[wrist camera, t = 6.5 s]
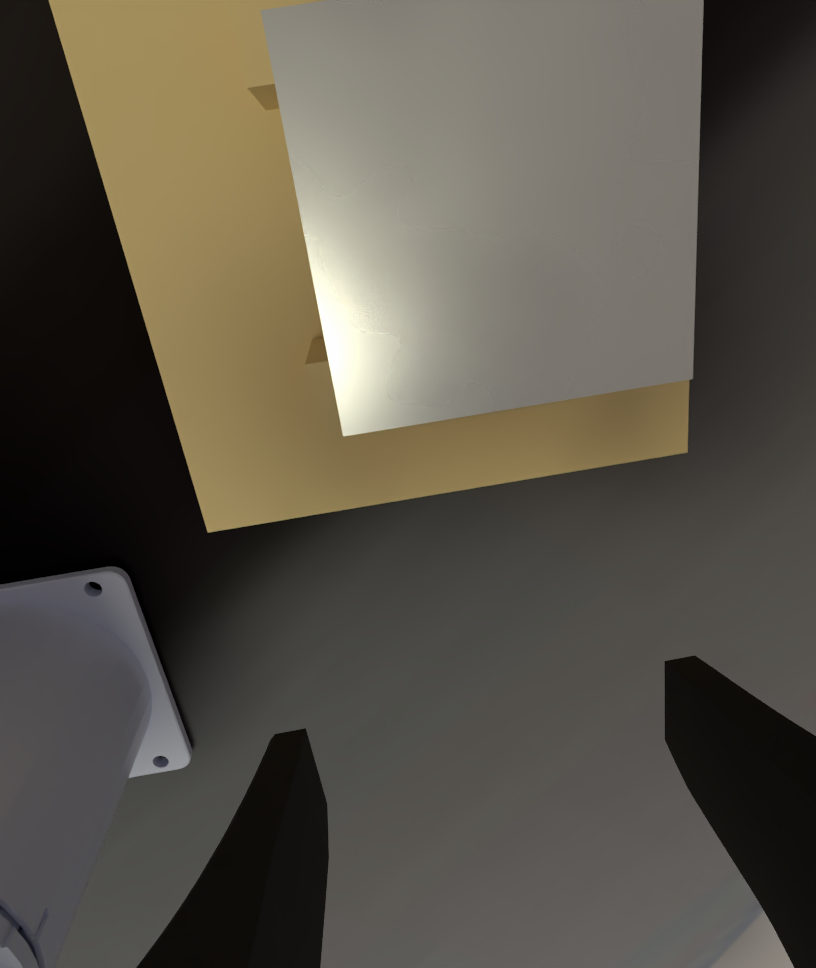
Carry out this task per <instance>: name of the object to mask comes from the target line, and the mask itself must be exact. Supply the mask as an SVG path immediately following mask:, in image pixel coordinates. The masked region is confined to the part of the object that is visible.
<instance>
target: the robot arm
mask: <svg viewBox="0 0 816 968" xmlns="http://www.w3.org/2000/svg"><path fill="white" fill-rule="evenodd" d="M89 582H96V583H98V584H100V586H101V587H102V590H96V589H94V588H92V587H91V586H90V585H89ZM665 741H666V743H667V745H668V747H669V750H670V752H671V754H672V756H673V758H674V760H675V763H676V765H677V767H678V769H679V771H680V773H681V775H682V777H683V779H684V781H685V783H686V785H687V787H688V789H689V791H690V793H691V794H692V796H693V797H694V799H695V801H696V802H697V804H698V806H699V807H700V809H701V810H702V812H703V814H704V815H705V817H706V818H707V820H708V822H709V823H710V825H711V827H712V828H713V830H714V831H715V833H716V834H717V836H718V838H719V839H720V841H721V842H722V844H723V846H724V847H725V849H726V850H727V852H728V853H729V855H730V857H731V858H732V860H733V861H734V863H735V865H736V866H737V868H738V869H739V871H740V873H741V874H742V876H743V877H744V879H745V880H746V882H747V884H748V885H749V887H750V888H751V890H752V892H753V893H754V895H755V896H756V898H757V899H758V901H759V903H760V905H761V906H762V908H763V910H764V911H765V913H766V915H767V917H768V918H769V920H770V922H771V924H772V925H773V927H774V929H775V931H776V933H777V935H778V937H779V938H780V941H781V942H782V944H783V946H784V948H785V950H786V952H787V954H788V956H789V958H790V960H791V962H792V964H793V966H794V968H816V736H814V735H813V734H811V733H810V732H808V731H806V730H805V729H803V728H802V727H800V726H798V725H797V724H795V723H794V722H792V721H791V720H789V719H787V718H786V717H784V716H783V715H781V714H780V713H778V712H777V711H775V710H774V709H772V708H771V707H769V706H768V705H766V704H765V703H763V702H762V701H760V700H759V699H757V698H756V697H754V696H753V695H751V694H750V693H748V692H747V691H745V690H744V689H743V688H741V687H740V686H738V685H737V684H735V683H734V682H732V681H731V680H729V679H728V678H727V677H725V676H724V675H722V674H721V673H719V672H718V671H717V670H715V669H714V668H712V667H711V666H709V665H708V664H706V663H705V662H704V661H702V660H701V659H699V658H698V657H696V656H690V657H685V658H680V659H674V660H669V661H665ZM158 756H164V757H166V759H162V758H160V757H158ZM191 756H192V748H191V745H190V742H189V740H188V737H187V734H186V731H185V729H184V726H183V723H182V720H181V718H180V715H179V712H178V709H177V707H176V704H175V701H174V698H173V696H172V693H171V690H170V687H169V685H168V682H167V679H166V676H165V674H164V671H163V668H162V665H161V663H160V660H159V657H158V654H157V652H156V649H155V646H154V643H153V641H152V638H151V635H150V632H149V630H148V627H147V624H146V621H145V619H144V616H143V613H142V610H141V608H140V605H139V602H138V599H137V597H136V594H135V591H134V588H133V585H132V583H131V580H130V577H129V576H128V574H127V573H126V572H125V571H124V570H122V569H121V568H118V567H102V568H97V569H91V570H85V571H79V572H73V573H67V574H61V575H55V576H49V577H43V578H37V579H31V580H25V581H19V582H13V583H7V584H1V585H0V968H55V966H56V963H57V961H58V958H59V955H60V953H61V950H62V948H63V945H64V943H65V940H66V937H67V935H68V932H69V930H70V927H71V924H72V922H73V919H74V917H75V914H76V912H77V909H78V906H79V904H80V901H81V899H82V896H83V894H84V891H85V888H86V886H87V883H88V881H89V878H90V875H91V873H92V870H93V868H94V865H95V863H96V860H97V857H98V855H99V852H100V850H101V847H102V845H103V842H104V839H105V837H106V834H107V832H108V829H109V826H110V824H111V821H112V819H113V816H114V814H115V811H116V808H117V806H118V803H119V801H120V798H121V796H122V793H123V790H124V788H125V785H126V783H127V780H128V778H130V777H136V776H141V775H147V774H153V773H159V772H164V771H170V770H176V769H181V768H184V767H185V766H187V765H188V764H189V762H190V760H191ZM328 859H329V853H328V817H327V802H326V798H325V795H324V791H323V788H322V784H321V781H320V777H319V774H318V770H317V767H316V763H315V760H314V756H313V753H312V749H311V746H310V742H309V739H308V735H307V732H306V729H301V730H295V731H290V732H285V733H279V734H275V735H274V736H273V738H272V739H271V740H270V743H269V745H268V747H267V750H266V752H265V754H264V756H263V758H262V761H261V763H260V765H259V767H258V769H257V772H256V774H255V776H254V778H253V780H252V782H251V784H250V786H249V788H248V790H247V792H246V794H245V796H244V798H243V800H242V802H241V804H240V806H239V808H238V810H237V812H236V814H235V816H234V817H233V819H232V821H231V823H230V825H229V827H228V829H227V831H226V833H225V834H224V836H223V838H222V840H221V841H220V843H219V845H218V847H217V848H216V850H215V852H214V853H213V855H212V857H211V858H210V860H209V862H208V864H207V865H206V867H205V869H204V870H203V872H202V874H201V875H200V877H199V879H198V880H197V882H196V884H195V885H194V887H193V888H192V890H191V891H190V893H189V894H188V896H187V898H186V899H185V901H184V902H183V904H182V905H181V907H180V908H179V910H178V911H177V913H176V914H175V915H174V917H173V918H172V920H171V921H170V923H169V924H168V926H167V927H166V928H165V930H164V931H163V933H162V934H161V936H160V937H159V938H158V940H157V941H156V942H155V944H154V945H153V946H152V948H151V949H150V950H149V952H148V953H147V954H146V956H145V957H144V958H143V960H142V961H141V962H140V964H139V965H138V966H137V968H320V963H321V951H322V938H323V926H324V913H325V900H326V887H327V874H328Z"/></svg>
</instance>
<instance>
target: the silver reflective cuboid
mask: <svg viewBox="0 0 816 968" xmlns="http://www.w3.org/2000/svg"><path fill="white" fill-rule="evenodd" d="M261 15H262V21H263V26H264V31H265V36H266V41H267V46H268V51H269V57H270V62H271V67H272V72H273V77H274V82H275V88H276V93H277V98H278V103H279V108H280V113H281V118H282V124H283V129H284V134H285V139H286V144H287V149H288V154H289V160H290V165H291V170H292V175H293V180H294V185H295V191H296V196H297V201H298V206H299V211H300V216H301V221H302V227H303V232H304V237H305V242H306V247H307V252H308V258H309V263H310V268H311V273H312V278H313V283H314V288H315V294H316V299H317V304H318V309H319V314H320V319H321V324H322V330H323V335H324V340H325V345H326V350H327V355H328V361H329V366H330V371H331V376H332V381H333V386H334V391H335V397H336V402H337V407H338V412H339V417H340V422H341V428H342V433H343V437H344V436H350V435H356V434H362V433H368V432H374V431H380V430H386V429H392V428H398V427H405V426H411V425H417V424H423V423H429V422H435V421H441V420H447V419H453V418H459V417H465V416H471V415H477V414H483V413H490V412H496V411H502V410H508V409H514V408H520V407H526V406H532V405H538V404H544V403H550V402H556V401H562V400H568V399H575V398H581V397H587V396H593V395H599V394H605V393H611V392H617V391H623V390H629V389H635V388H641V387H647V386H653V385H660V384H666V383H672V382H678V381H684V380H690V379H693V356H694V321H695V285H696V249H697V214H698V178H699V142H700V107H701V71H702V35H703V0H325V1H319V2H312V3H305V4H299V5H292V6H285V7H279V8H272V9H266V10H261Z"/></svg>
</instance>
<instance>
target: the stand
mask: <svg viewBox="0 0 816 968" xmlns="http://www.w3.org/2000/svg"><path fill="white" fill-rule="evenodd" d="M319 1H325V0H49V3H50V6H51V10H52V13H53V16H54V20H55V23H56V26H57V30H58V33H59V36H60V40H61V43H62V46H63V50H64V53H65V56H66V60H67V63H68V66H69V70H70V73H71V76H72V80H73V83H74V87H75V90H76V93H77V97H78V100H79V103H80V107H81V110H82V113H83V117H84V120H85V123H86V127H87V130H88V133H89V137H90V140H91V143H92V147H93V150H94V153H95V157H96V160H97V163H98V167H99V170H100V173H101V177H102V180H103V184H104V187H105V190H106V194H107V197H108V200H109V204H110V207H111V210H112V214H113V217H114V220H115V224H116V227H117V230H118V234H119V237H120V240H121V244H122V247H123V250H124V254H125V257H126V260H127V264H128V267H129V271H130V274H131V277H132V281H133V284H134V287H135V291H136V294H137V297H138V301H139V304H140V307H141V311H142V314H143V317H144V321H145V324H146V327H147V331H148V334H149V337H150V341H151V344H152V347H153V351H154V354H155V358H156V361H157V364H158V368H159V371H160V374H161V378H162V381H163V384H164V388H165V391H166V394H167V398H168V401H169V404H170V408H171V411H172V414H173V418H174V421H175V424H176V428H177V431H178V434H179V438H180V441H181V444H182V448H183V451H184V455H185V458H186V461H187V465H188V468H189V471H190V475H191V478H192V481H193V485H194V488H195V491H196V495H197V498H198V501H199V505H200V508H201V511H202V515H203V518H204V521H205V525H206V528H207V531H208V533H209V532H214V531H220V530H226V529H232V528H238V527H244V526H250V525H256V524H262V523H268V522H274V521H280V520H286V519H292V518H298V517H304V516H310V515H316V514H322V513H328V512H334V511H340V510H346V509H352V508H358V507H364V506H370V505H376V504H382V503H388V502H394V501H400V500H406V499H412V498H418V497H424V496H430V495H436V494H442V493H448V492H454V491H460V490H466V489H472V488H478V487H484V486H490V485H496V484H502V483H508V482H514V481H520V480H526V479H532V478H538V477H544V476H550V475H556V474H562V473H568V472H574V471H580V470H586V469H592V468H598V467H604V466H610V465H616V464H622V463H628V462H634V461H640V460H646V459H652V458H658V457H664V456H670V455H676V454H682V453H687V452H688V414H689V380H684V381H678V382H672V383H666V384H660V385H653V386H647V387H641V388H635V389H629V390H623V391H617V392H611V393H605V394H599V395H593V396H587V397H581V398H575V399H568V400H562V401H556V402H550V403H544V404H538V405H532V406H526V407H520V408H514V409H508V410H502V411H496V412H490V413H483V414H477V415H471V416H465V417H459V418H453V419H447V420H441V421H435V422H429V423H423V424H417V425H411V426H405V427H398V428H392V429H386V430H380V431H374V432H368V433H362V434H356V435H350V436H344V437H343V433H342V428H341V422H340V417H339V412H338V407H337V402H336V397H335V391H334V386H333V381H332V376H331V371H330V366H329V361H328V355H327V350H326V345H325V340H324V335H323V330H322V324H321V319H320V314H319V309H318V304H317V299H316V294H315V288H314V283H313V278H312V273H311V268H310V263H309V258H308V252H307V247H306V242H305V237H304V232H303V227H302V221H301V216H300V211H299V206H298V201H297V196H296V191H295V185H294V180H293V175H292V170H291V165H290V160H289V154H288V149H287V144H286V139H285V134H284V129H283V124H282V118H281V113H280V108H279V103H278V98H277V93H276V88H275V82H274V77H273V72H272V67H271V62H270V57H269V51H268V46H267V41H266V36H265V31H264V26H263V21H262V15H261V10H266V9H272V8H279V7H285V6H292V5H299V4H305V3H312V2H319Z"/></svg>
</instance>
